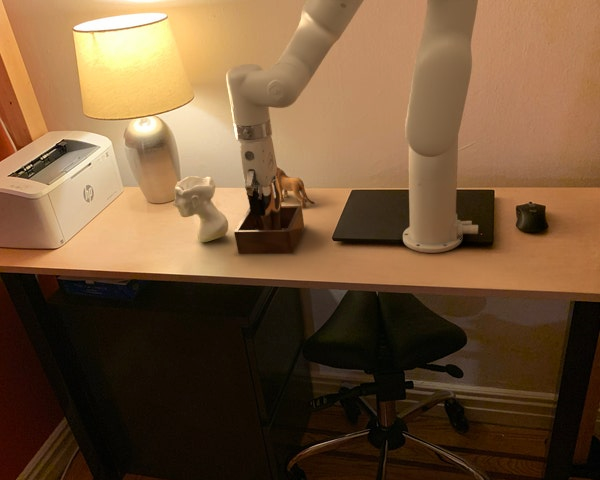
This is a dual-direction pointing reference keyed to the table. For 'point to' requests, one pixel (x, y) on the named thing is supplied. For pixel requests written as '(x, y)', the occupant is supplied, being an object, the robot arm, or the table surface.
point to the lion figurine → (291, 186)
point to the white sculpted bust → (201, 206)
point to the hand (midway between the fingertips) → (264, 205)
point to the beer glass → (270, 207)
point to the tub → (270, 233)
